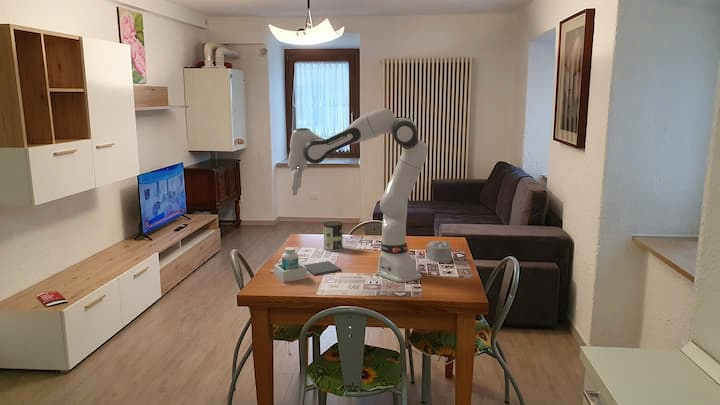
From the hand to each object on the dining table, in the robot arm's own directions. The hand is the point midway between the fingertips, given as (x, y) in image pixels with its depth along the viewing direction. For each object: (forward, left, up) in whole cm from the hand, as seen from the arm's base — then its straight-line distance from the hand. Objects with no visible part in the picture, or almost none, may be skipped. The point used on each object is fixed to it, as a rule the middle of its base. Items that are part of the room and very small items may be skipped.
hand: (294, 192), depth 257 cm
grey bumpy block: (-20, -70, -38) cm, 82 cm away
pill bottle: (-8, +6, -38) cm, 39 cm away
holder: (-8, +6, -38) cm, 39 cm away
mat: (-5, -11, -38) cm, 39 cm away
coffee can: (+23, -31, -38) cm, 54 cm away
